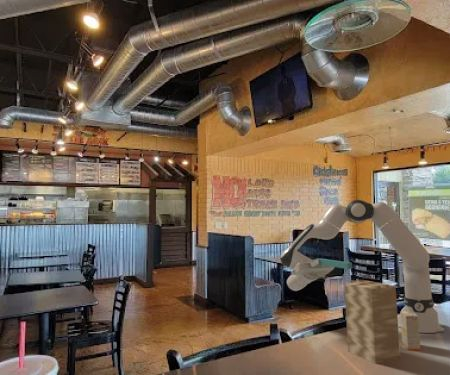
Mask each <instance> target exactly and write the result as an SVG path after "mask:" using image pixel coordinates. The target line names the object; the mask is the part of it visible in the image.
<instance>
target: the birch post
mask: <svg viewBox="0 0 450 375" xmlns="http://www.w3.org/2000/svg"><path fill="white" fill-rule="evenodd" d="M396 288H397V287H396V285H392V284H391V285H390V284H387V283H382V282H376V281H370V280H365V279H359V281H357V280H350V282H344V294H345V295H344V297H345V298H344V299H345V316H346V317H345V318H346V320H345V321H346V336H347V337H346V338H347V351H348V352H350V353H351V354H353V355H356V356H358V357H361V358H363V359H365V360H367V361H369V362H372V363H373V364H379V363H385V362H388V361H392V360H398V359H401V353H400V352H401V351H400V338H399V337H400V336H399V335H400V334H399V327H398V324H399V323H398V322H399V321H398V304H397V290H396Z"/></svg>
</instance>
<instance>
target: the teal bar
mask: <svg viewBox="0 0 450 375" xmlns="http://www.w3.org/2000/svg"><path fill="white" fill-rule="evenodd" d="M316 260H320V261H321V263H320V265H326V266H332V267H334V268H338V269H339V268H340V269H346V270H351V269H352V270H353V263H352V262H349V261H343V260H342V261H341V260H334V259H327V258H321V257H320V258H319V257H318V258H315V261H316Z"/></svg>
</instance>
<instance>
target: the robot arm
mask: <svg viewBox="0 0 450 375" xmlns="http://www.w3.org/2000/svg"><path fill="white" fill-rule="evenodd" d="M367 220H368V221H371V222H372V223H373V224H374V225H375V226H376V228H377V229H379V231H380V233H381V234H382V235H383V236H384V238H386V240H387V241H388V243H389V244H390V245H391V247H392V248H393V249H394V252H396V253H397V255H398V256H399V257H400V259H401V260H402V267H403V268H402V269H403V281H404V282H403V283H404V285H403V286H404V297H403V298H404V299H403V301H404V307H403V308H402V309H401V311H412V312H413V313H414V314H416V315H417V316H418V323H419V333H422V334H432V333H433V334H435V333H440V332H445V328H444V327H442V326H441V325H440V322H439V315H438V314H439V313H438V311H436V309H435V308H434V298H433V296H432V285H431V283H432V282H431V275H430V268H429V267H430V266H429V263H430V253H429V252H428V251H427V250H426V248H425V247H424V246H423V244H422V243H421V242H420V240H419V239H418V238H417V237H416V236H415V235H414V233H413V232H412V231H411V230H410V229H409V227H408V226H407V224H405V222H404V221H403V220H402V219H401V217H399V215H398V213H397V212H396V211H394V209H393V208H391V207H390V205H389V204H387V203H385V202H383V201H378V202H375V203H373V204H371V203H369V202H367V201H365V200H362V199H354V200H352V201H350V202H349V203H348V204H347V205H346V206H345V205H342V204H340V203H334V204H331V206H329V207H328V208H327V210H326V211H325V212H324V213H323V215H322V217H320V219H319V220H318V221H317V222H316V223H314V224H313V223H311V224H309V225H307V226H306V228H304V229H303V231H302V232H300V234H298V236H296V238H295V239H294V240H293V241H292V242H291V243H290V244H289V245H288V246H287V247H286V248H285V249H284V250H283V251H282V253H280V254H281V255H280V257H279V259H280V263H281V265H282V266H284V267H285V268H289V269H290V270H292V271H291V272H290V275H289V276H288V278H287V279H286V284H287V287H288V289H290V290H291V291H294V292H297V291H300V290H302V289H304V288H305V287H306V286H307V285H308V284H311V283H312V282H314V281H316V280H320V279H323V278H325V277H326V275H328V274H329V273H330V272H332V271H333V270H335V267H332V266H326V265H320V263H321V261H320V260H316V259H315V260H312V259H311V258H309V257H307V256H306V255H305V254H302V253H301V252H299V251H298V250H299V249H300V248H301V246H302V245H303V244H304V243H305V242H307V240H308V239H312V238H313V239H318V240H320V239H321V240H331V239H334V238H335V237H336V236H337V235H338V234H339V233H340V231H341V229H342V228H343V226H344V224H345V223H346V222H350V223H351V222H352V223H355V224H361V223H364V222H366V221H367ZM398 328H401V321H400V322H399V323H398Z"/></svg>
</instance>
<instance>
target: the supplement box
mask: <svg viewBox="0 0 450 375" xmlns="http://www.w3.org/2000/svg"><path fill="white" fill-rule="evenodd" d="M399 315H400V322H401V327H400V328H401V341H402V345H404V346H405V348H406V349H407V350H411V351H421V340H420V339H421V338H420V332H419V323H418V316H417V315H416V314H414V313H413V312H412V311H402V310H401V311H400V314H399Z"/></svg>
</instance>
